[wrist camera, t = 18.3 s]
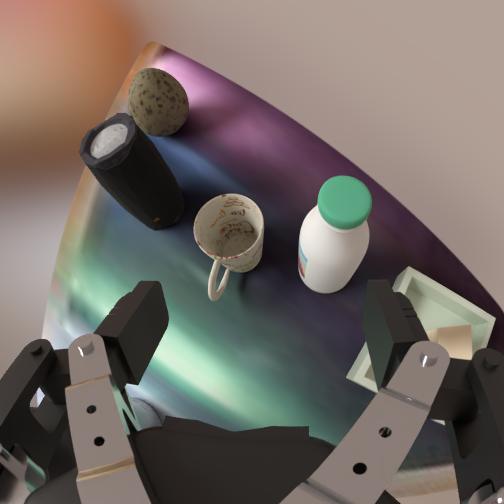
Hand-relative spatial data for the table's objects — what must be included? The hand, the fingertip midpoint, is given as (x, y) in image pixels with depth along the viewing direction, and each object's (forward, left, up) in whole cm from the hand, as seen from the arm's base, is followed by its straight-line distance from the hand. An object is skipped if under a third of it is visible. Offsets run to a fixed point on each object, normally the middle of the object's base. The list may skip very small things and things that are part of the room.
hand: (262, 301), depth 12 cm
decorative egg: (+23, +38, -31) cm, 54 cm away
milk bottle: (+12, 0, -31) cm, 33 cm away
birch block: (+8, -18, -30) cm, 35 cm away
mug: (+6, +11, -31) cm, 33 cm away
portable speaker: (+8, +27, -31) cm, 42 cm away
